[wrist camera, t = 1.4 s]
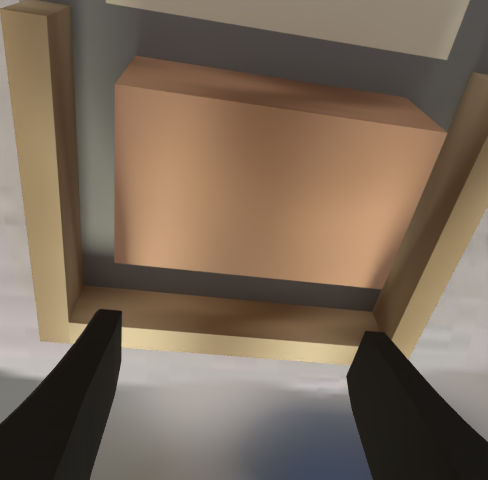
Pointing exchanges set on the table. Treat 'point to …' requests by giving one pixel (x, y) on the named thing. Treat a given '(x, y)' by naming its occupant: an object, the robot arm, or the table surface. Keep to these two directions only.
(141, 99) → the terracotta slab
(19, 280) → the table surface
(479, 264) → the table surface
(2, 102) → the table surface
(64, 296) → the oak cubby
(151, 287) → the floor board
